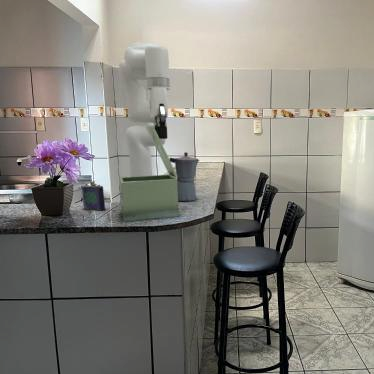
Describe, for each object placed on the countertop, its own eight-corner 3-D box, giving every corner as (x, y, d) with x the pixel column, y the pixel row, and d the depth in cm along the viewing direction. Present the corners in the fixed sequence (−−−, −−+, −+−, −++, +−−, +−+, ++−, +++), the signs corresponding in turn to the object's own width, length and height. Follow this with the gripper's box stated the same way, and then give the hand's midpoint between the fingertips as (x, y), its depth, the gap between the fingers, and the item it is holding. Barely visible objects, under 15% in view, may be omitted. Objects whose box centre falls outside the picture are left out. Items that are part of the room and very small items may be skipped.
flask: (82, 209, 136) (79, 181, 135) (87, 207, 139) (85, 180, 138) (102, 210, 134) (100, 182, 132) (107, 209, 136) (105, 181, 135)
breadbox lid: (150, 126, 116) (164, 120, 117) (145, 127, 129) (158, 122, 130) (175, 178, 121) (188, 171, 122) (168, 173, 134) (180, 168, 135)
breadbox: (123, 221, 116) (121, 182, 114) (121, 212, 130) (119, 177, 128) (178, 216, 123) (177, 178, 121) (171, 208, 136) (169, 174, 134)
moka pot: (206, 198, 155) (204, 152, 152) (175, 204, 144) (173, 153, 141) (193, 196, 161) (191, 151, 158) (162, 201, 151) (160, 153, 148)
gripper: (143, 87, 128) (146, 138, 131) (149, 80, 112) (153, 139, 115) (165, 88, 131) (167, 138, 134) (174, 81, 115) (176, 138, 118)
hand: (161, 138), depth 124 cm, fingers closed on breadbox lid, 6 cm apart
